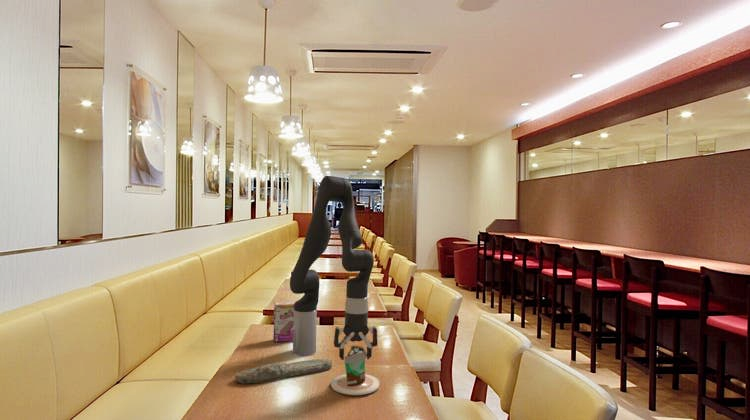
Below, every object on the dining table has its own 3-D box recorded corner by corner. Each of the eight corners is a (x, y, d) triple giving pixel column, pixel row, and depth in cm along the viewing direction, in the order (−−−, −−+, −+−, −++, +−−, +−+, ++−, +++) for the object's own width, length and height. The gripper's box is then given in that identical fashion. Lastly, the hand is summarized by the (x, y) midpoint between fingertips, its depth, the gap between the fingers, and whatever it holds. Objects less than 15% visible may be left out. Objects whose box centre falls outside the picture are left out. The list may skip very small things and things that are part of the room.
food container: (365, 387, 141) (362, 356, 141) (346, 388, 142) (344, 357, 142) (371, 373, 153) (368, 344, 153) (353, 373, 154) (351, 345, 154)
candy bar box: (273, 343, 191) (274, 305, 191) (273, 339, 196) (273, 302, 196) (299, 341, 194) (300, 304, 194) (298, 338, 199) (299, 301, 199)
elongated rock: (337, 375, 161) (326, 367, 169) (337, 360, 161) (326, 353, 170) (238, 388, 143) (232, 378, 152) (239, 371, 144) (232, 363, 152)
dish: (332, 398, 138) (332, 393, 138) (329, 377, 154) (329, 373, 154) (383, 395, 140) (383, 390, 140) (375, 376, 156) (375, 371, 156)
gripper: (376, 307, 151) (374, 354, 152) (334, 307, 149) (333, 355, 150) (379, 312, 144) (378, 362, 144) (335, 313, 142) (334, 363, 142)
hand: (355, 358), depth 147 cm, fingers open, 8 cm apart
